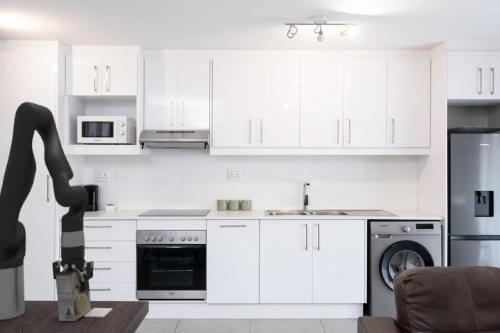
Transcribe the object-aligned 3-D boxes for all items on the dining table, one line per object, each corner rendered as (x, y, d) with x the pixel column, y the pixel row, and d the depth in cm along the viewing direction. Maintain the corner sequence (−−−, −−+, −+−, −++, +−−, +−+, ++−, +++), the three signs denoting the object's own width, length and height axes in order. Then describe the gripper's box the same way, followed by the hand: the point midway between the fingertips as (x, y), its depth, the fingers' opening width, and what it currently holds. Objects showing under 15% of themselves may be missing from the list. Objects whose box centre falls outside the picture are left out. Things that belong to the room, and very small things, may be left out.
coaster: (83, 316, 131) (83, 315, 131) (94, 309, 138) (94, 307, 138) (103, 317, 131) (103, 316, 131) (112, 309, 138) (112, 308, 138)
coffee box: (75, 310, 137) (72, 265, 137) (91, 310, 136) (88, 265, 135) (58, 321, 128) (54, 273, 128) (75, 321, 127) (71, 273, 126)
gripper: (46, 245, 128) (47, 294, 128) (86, 246, 127) (87, 295, 127) (59, 241, 136) (60, 287, 136) (98, 241, 134) (98, 288, 135)
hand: (73, 291), depth 132 cm, fingers closed on coffee box, 6 cm apart
